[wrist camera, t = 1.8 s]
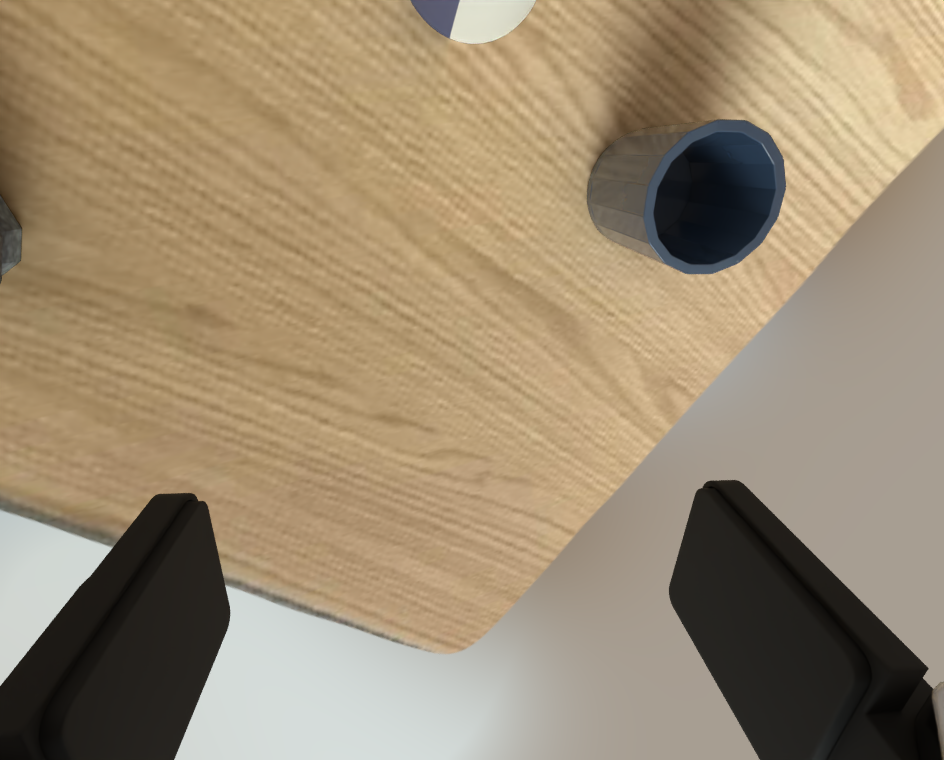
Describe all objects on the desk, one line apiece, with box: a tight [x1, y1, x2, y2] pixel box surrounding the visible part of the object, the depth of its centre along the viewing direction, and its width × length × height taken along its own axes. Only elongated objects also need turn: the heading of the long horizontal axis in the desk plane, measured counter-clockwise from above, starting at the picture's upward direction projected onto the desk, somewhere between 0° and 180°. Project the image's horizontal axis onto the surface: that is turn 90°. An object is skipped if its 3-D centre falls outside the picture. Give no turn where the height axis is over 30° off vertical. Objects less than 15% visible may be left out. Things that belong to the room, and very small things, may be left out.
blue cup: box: [587, 119, 786, 274], centre depth 27 cm, size 7×7×8 cm
